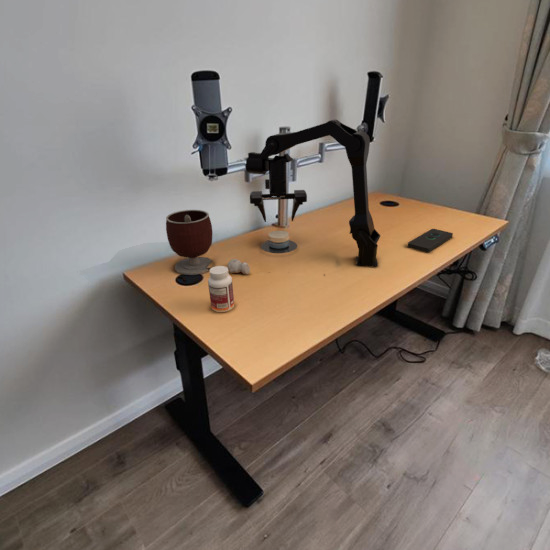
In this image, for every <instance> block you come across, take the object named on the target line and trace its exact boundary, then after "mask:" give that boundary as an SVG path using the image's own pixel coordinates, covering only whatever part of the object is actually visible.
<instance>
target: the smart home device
mask: <svg viewBox="0 0 550 550" xmlns="http://www.w3.org/2000/svg"><path fill="white" fill-rule="evenodd" d="M453 235H454V234H453V232H450V231H445V230H441V229H437V228H431V229H429V230H427V231H425V232H424V233H422V234H420V235H418V236H416V237H415V238H413V239H412V240H410V241H408V242H407V248H408V249H412V250H414V251H415V250H416V251H419V252H422V253H427V254H428V253H429V254H430V253H431V252H433V251H434V250H436V249H437V248H439V247H440V246H442V245H443V244H445V243H446V242H448V241H450V240H452V238H453Z"/></svg>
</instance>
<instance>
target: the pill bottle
mask: <svg viewBox="0 0 550 550" xmlns="http://www.w3.org/2000/svg"><path fill="white" fill-rule="evenodd" d="M210 268H211V269H210V270H209V278H208V279H207V285H208V292H209V300H210V307H211V309H212V311H214V312H217V313H227V312H229V311H231V310H232V309H233V308H234V307H235V295H234V294H235V293H234V285H233V278H232V276H231V274H229V270H228V268H227V266H225V265H216V266H212V267H210Z"/></svg>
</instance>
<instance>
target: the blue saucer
mask: <svg viewBox="0 0 550 550" xmlns="http://www.w3.org/2000/svg"><path fill="white" fill-rule="evenodd" d="M289 240H290V239H289ZM289 240H288V241H286V242H283V243H274V242H272V241H270V240H269V239H268V241H269V246H270V247H272V248H275V249H282V248H285V247H287V246H289Z"/></svg>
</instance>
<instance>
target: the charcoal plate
mask: <svg viewBox="0 0 550 550" xmlns="http://www.w3.org/2000/svg"><path fill="white" fill-rule="evenodd" d="M297 248H298V243H297V242H295V241H293V240H291V239H289V246H287V247H285V248H282V249H275V248H272V247H270V246H269V240H266V241H264V242H263V243H261V245H260V249H261V250H262V251H264V252H267V253H271V254H286V253H291V252H293V251H295V250H296V249H297Z"/></svg>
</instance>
